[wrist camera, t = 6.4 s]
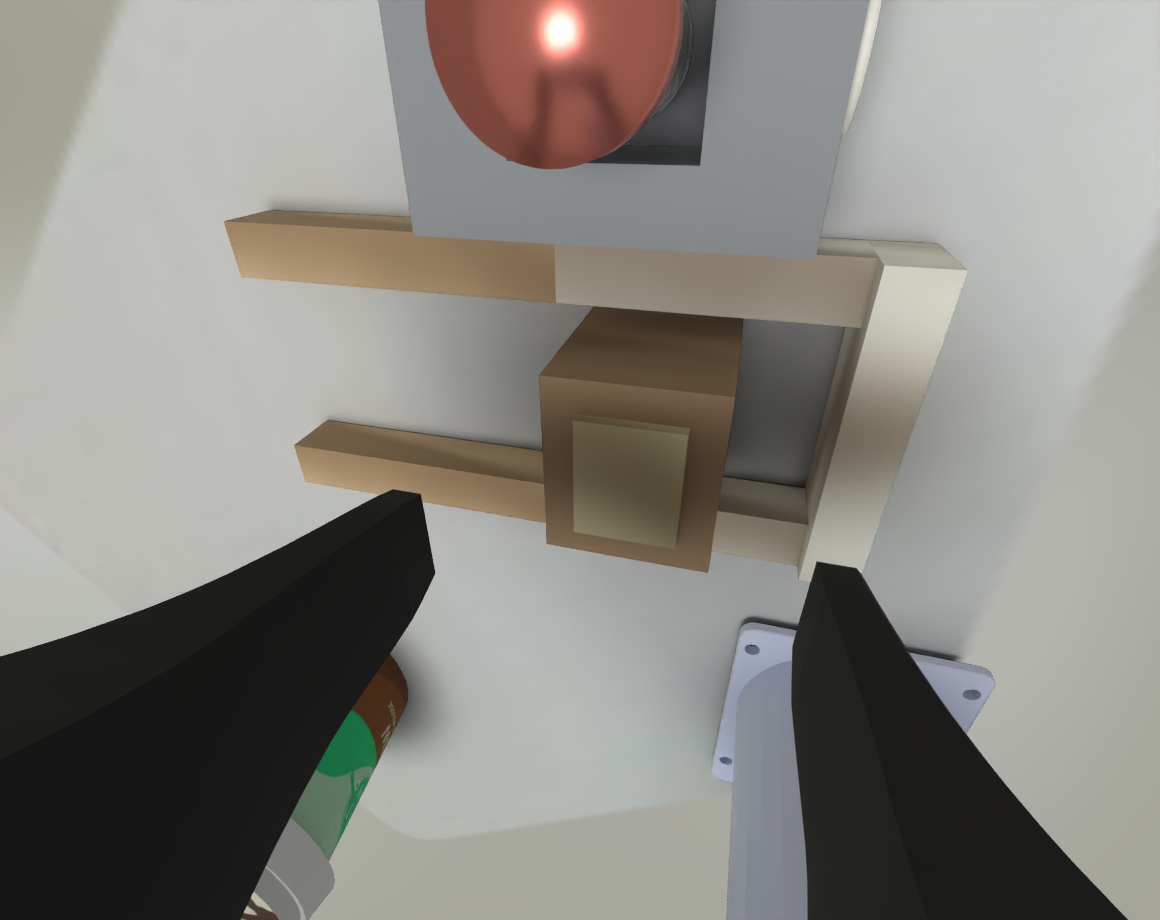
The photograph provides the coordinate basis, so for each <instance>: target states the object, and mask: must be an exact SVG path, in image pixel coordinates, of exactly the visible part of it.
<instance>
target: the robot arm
mask: <svg viewBox="0 0 1160 920" xmlns="http://www.w3.org/2000/svg"><path fill="white" fill-rule="evenodd" d="M434 575H435V569H434V564H433V558H432V553H431V547H430V542H429V536H428V531H427V525H426V520H425V514H424V509H423V503H422V497H421V494H418V493H413V492H407V491H401V490H395V489H392V490H390V491H388V492H385V493H383V494H381V495H379V496H377V497H375V498H373V499H371V500H369V501H367V502H365V503H364V504H362V505H360V506H358V507H356V508H354V509H352V510H350V511H349V512H347V513H345V514H343V515H341V516H339V517H338V518H336V519H334V520H332V521H330V522H328V523H326V524H325V525H323V526H321V527H319V528H317V529H315V530H313V531H312V532H310V533H308V534H306V535H304V536H302V537H300V538H298V539H297V540H295V541H293V542H291V543H289V544H287V545H285V546H283V547H281V548H279V549H277V550H275V551H273V552H271V553H269V554H267V555H265V556H263V557H261V558H259V559H257V560H255V561H253V562H251V563H249V564H247V565H245V566H243V567H241V568H239V569H237V570H235V571H233V572H231V573H229V574H227V575H225V576H222V577H220V578H218V579H216V580H214V581H211V582H209V583H207V584H205V585H202V586H200V587H198V588H195V589H193V590H191V591H188V592H186V593H183V594H181V595H179V596H176V597H174V598H171V599H169V600H166V601H164V602H162V603H159V604H157V605H154V606H152V607H149V608H146V609H144V610H141V611H138V612H135V613H132V614H130V615H127V616H124V617H121V618H118V619H116V620H113V621H110V622H107V623H105V624H101V625H99V626H96V627H93V628H90V629H87V630H85V631H82V632H79V633H76V634H73V635H70V636H67V637H64V638H61V639H57V640H54V641H51V642H48V643H44V644H41V645H38V646H35V647H32V648H29V649H25V650H21V651H18V652H15V653H12V654H8V655H4V656H1V657H0V920H241V918H242V915H243V913H244V911H245V909H246V907H247V905H248V903H249V901H250V899H251V896H252V894H253V892H254V890H255V888H256V886H257V884H258V882H259V880H260V878H261V876H262V873H263V871H264V869H265V867H266V865H267V863H268V861H269V859H270V857H271V855H272V852H273V850H274V848H275V846H276V844H277V842H278V841H279V839H280V837H281V835H282V833H283V831H284V829H285V827H286V825H287V823H288V821H289V819H290V817H291V815H292V813H293V811H294V809H295V807H296V806H297V804H298V802H299V800H300V798H301V796H302V794H303V792H304V790H305V788H306V786H307V785H308V783H309V781H310V779H311V777H312V776H313V774H314V772H315V770H316V768H317V766H318V765H319V763H320V761H321V759H322V757H323V755H324V754H325V752H326V750H327V748H328V746H329V745H330V743H331V741H332V739H333V738H334V736H335V735H336V733H337V731H338V730H339V728H340V727H341V725H342V723H343V722H344V720H345V719H346V717H347V716H348V714H349V713H350V711H351V710H352V708H353V707H354V705H355V704H356V702H357V701H358V699H359V698H360V697H361V695H362V694H363V692H364V691H365V689H366V688H367V686H368V685H369V683H370V682H371V680H372V679H373V677H374V676H375V674H376V673H377V672H378V670H379V669H380V667H381V666H382V664H383V663H384V661H385V660H386V658H387V657H388V655H389V654H390V652H391V651H392V649H393V648H394V646H395V645H396V643H397V642H398V640H399V639H400V637H401V636H402V634H403V633H404V631H405V630H406V628H407V627H408V625H409V624H410V622H411V621H412V619H413V617H414V615H415V613H416V612H417V610H418V608H419V606H420V604H421V602H422V600H423V598H424V596H425V594H426V592H427V590H428V588H429V585H430V583H431V581H432V579H433V577H434ZM750 645H756V646H750ZM994 687H995V682H994V679H993V676H992V674H991V672H990V671H989V670H987V669H986V668H983V667H980V666H976V665H971V664H966V663H960V662H955V661H950V660H945V659H940V658H935V657H930V656H924V655H919V654H914V653H909V652H908V650H907V649H906V647H905V646H904V644H903V642H902V641H901V639H900V638H899V636H898V634H897V633H896V631H895V630H894V628H893V626H892V625H891V623H890V622H889V620H888V618H887V617H886V615H885V613H884V612H883V610H882V608H881V607H880V605H879V603H878V602H877V600H876V598H875V597H874V595H873V593H872V592H871V590H870V588H869V586H868V585H867V583H866V581H865V579H864V578H863V576H862V574H861V573H860V572H859V571H858V569H857V568H853V567H847V566H841V565H836V564H830V563H824V562H818V561H817V562H816V565H815V569H814V572H813V576H812V579H811V583H810V586H809V590H808V593H807V597H806V600H805V604H804V607H803V611H802V614H801V617H800V621H799V624H798V628H797V631H796V630H791V629H786V628H781V627H776V626H770V625H765V624H760V623H747V624H745V625H743V626H742V627H741V629H740V633H739V637H738V642H737V647H736V651H735V656H734V661H733V665H732V670H731V675H730V680H729V684H728V689H727V694H726V698H725V703H724V708H723V712H722V717H721V722H720V726H719V731H718V736H717V740H716V745H715V750H714V755H713V759H712V765H711V772H712V774H713V775H714V776H715V777H717V778H719V779H721V780H725V781H729V782H733V789H732V811H731V831H730V852H729V872H728V893H727V914H726V915H727V916H726V920H1128V919H1127V918H1126V917H1125V916H1124V915H1123V914H1122V913H1121V912H1120V911H1119V910H1118V909H1117V908H1116V907H1115V906H1114V905H1113V904H1112V903H1111V902H1110V901H1109V900H1108V898H1107V897H1106V896H1105V895H1104V894H1103V893H1102V892H1101V891H1100V890H1099V889H1098V888H1097V887H1096V886H1095V885H1094V884H1093V883H1092V882H1091V881H1090V880H1089V879H1088V877H1087V876H1086V875H1085V874H1084V873H1083V872H1082V871H1081V870H1080V869H1079V868H1078V867H1077V866H1076V865H1075V864H1074V863H1073V862H1072V861H1071V860H1070V858H1069V857H1068V856H1067V855H1066V854H1065V853H1064V852H1063V851H1062V850H1061V848H1060V847H1059V846H1058V845H1057V844H1056V843H1055V842H1054V841H1053V840H1052V838H1051V837H1050V836H1049V835H1048V834H1047V833H1046V832H1045V830H1044V829H1043V828H1042V827H1041V826H1040V825H1039V824H1038V822H1037V821H1036V820H1035V819H1034V818H1033V817H1032V815H1031V814H1030V813H1029V812H1028V811H1027V809H1026V808H1025V807H1024V806H1023V805H1022V803H1021V802H1020V801H1019V800H1018V799H1017V798H1016V796H1015V795H1014V794H1013V793H1012V792H1011V790H1010V789H1009V788H1008V787H1007V786H1006V785H1005V783H1004V782H1003V781H1002V779H1001V778H1000V777H999V776H998V775H997V773H996V772H995V771H994V770H993V768H992V767H991V766H990V764H989V763H988V762H987V761H986V759H985V758H984V757H983V756H982V754H981V753H980V752H979V750H978V749H977V748H976V746H975V745H974V744H973V742H972V741H971V740H970V738H969V737H968V736H967V734H966V733H967V732H968V730H969V728H970V727H971V725H972V723H973V721H974V720H975V718H976V717H977V715H978V713H979V712H980V710H981V708H982V707H983V705H984V704H985V702H986V700H987V699H988V697H989V695H990V694H991V692H992V690H993V689H994ZM969 689H972V690H969Z"/></svg>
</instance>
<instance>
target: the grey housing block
mask: <svg viewBox="0 0 1160 920" xmlns="http://www.w3.org/2000/svg"><path fill="white" fill-rule="evenodd" d="M378 2H379V9H380V15H381V22H382V29H383V35H384V42H385V49H386V55H387V62H388V69H389V75H390V82H391V89H392V95H393V102H394V109H395V115H396V122H397V129H398V135H399V142H400V149H401V156H402V162H403V169H404V176H405V182H406V189H407V196H408V202H409V209H410V216H411V222H412V229H413V236H424V237H441V238H458V239H475V240H492V241H509V242H527V243H544V244H561V245H578V246H595V247H613V248H630V249H647V250H664V251H681V252H698V253H716V254H733V255H750V256H767V257H784V258H801V259H816V254H817V249H818V244H819V240H820V235H821V230H822V225H823V220H824V216H825V211H826V206H827V201H828V197H829V192H830V187H831V182H832V178H833V173H834V168H835V163H836V158H837V154H838V149H839V144H840V139H841V136H844V135H845V134H846V132H847V130H848V128H849V126H850V123H851V121H852V118H853V115H854V112H855V109H856V106H857V103H858V100H859V96H860V93H861V89H862V86H863V82H864V78H865V75H866V71H867V67H868V63H869V59H870V54H871V50H872V46H873V41H874V37H875V32H876V28H877V23H878V18H879V13H880V8H881V3H882V0H716V9H715V19H714V29H713V39H712V50H711V60H710V70H709V80H708V91H707V101H706V111H705V121H704V132H703V142H702V147H660V146H621V147H620V148H618V149H616V150H614V151H612V152H611V153H609V154H607V155H605V156H602V157H600V158H597V159H595V160H593V161H590V162H587V163H584V164H582V165H579V166H575V167H570V168H565V169H550V170H549V169H539V168H532V167H529V166H525V165H521V164H518V163H516V162H513V161H511V160H509V159H506V158H505V157H503V156H501V155H500V154H498V153H496V152H495V151H493V150H492V149H490V148H489V147H488V146H487V145H485V144H484V143H483V142H481V141H480V140H479V139H478V138H477V137H476V136H475V135H474V134H473V133H472V132H471V131H470V130H469V128H468V127H467V126H466V125H465V123H464V122H463V121H462V120H461V118H460V117H459V116H458V114H457V112H456V111H455V109H454V108H453V106H452V104H451V103H450V101H449V99H448V97H447V95H446V93H445V91H444V89H443V87H442V85H441V83H440V80H439V77H438V74H437V72H436V69H435V66H434V63H433V59H432V55H431V51H430V47H429V41H428V35H427V29H426V17H425V0H378Z"/></svg>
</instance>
